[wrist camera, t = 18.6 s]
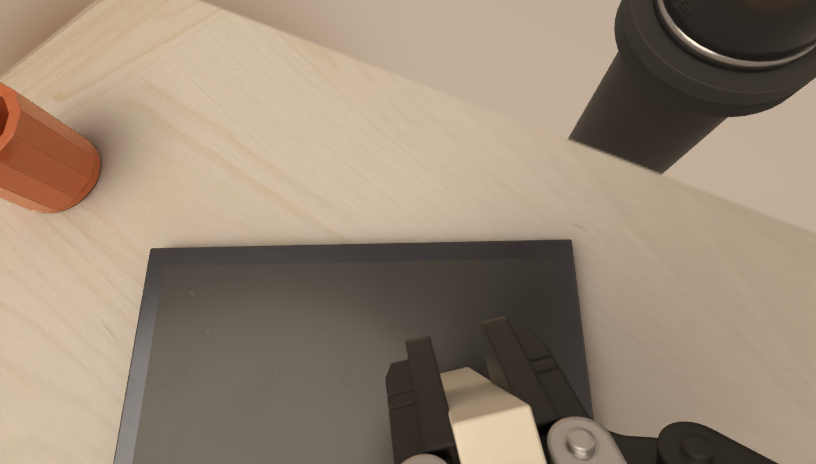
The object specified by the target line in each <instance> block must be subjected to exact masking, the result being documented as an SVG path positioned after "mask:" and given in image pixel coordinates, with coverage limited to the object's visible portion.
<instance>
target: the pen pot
mask: <svg viewBox="0 0 816 464" xmlns="http://www.w3.org/2000/svg"><path fill="white" fill-rule="evenodd" d="M100 168H101V162H100V156H99V153H98V151H97V149H96V148H95V146H94V145H93V144H92V143H91V142H89V141H88V140H87V139H86V138H85V137H83V136H82V135H80V134H79V133H77V132H76V131H74V130H73V129H71V128H70V127H68V126H67V125H65V124H64V123H62V122H61V121H59V120H58V119H56V118H55V117H53V116H52V115H50V114H49V113H47V112H46V111H45V110H43V109H42V108H40V107H39V106H37V105H36V104H34V103H33V102H31V101H30V100H28V99H27V98H25V97H24V96H22V95H21V94H19V93H18V92H16V91H15V90H13V89H11V88H10V87H8V86H6V85H4V84H3V83H1V82H0V198H2V199H4V200H7V201H9V202H12V203H14V204H17V205H19V206H22V207H24V208H27V209H29V210H34V211H37V212H42V213H54V212H59V211H63V210H66V209H68V208H70V207H72V206H74V205H76V204H77V203H79V202H80V201H81V200H82V199H84V198H85V197H86V196H87V195H88V194H89V192H90V191H91V190H92V188H93V187H94V185H95V183H96V182H97V179H98V177H99V173H100Z"/></svg>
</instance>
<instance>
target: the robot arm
mask: <svg viewBox="0 0 816 464" xmlns="http://www.w3.org/2000/svg"><path fill="white" fill-rule="evenodd" d="M652 1H653V9H654V12H655V15H656V18H657V20H658V22H659V24H660V26H661V28H662V29H663V31H664V32H665V34H666V35H667V36H668V37H669V38H670V39H671V40H672V41H673V42H674V43H675V44H676V45H677V46H678V47H679V48H680V49H682V50H683V51H684V52H686V53H687V54H689V55H690V56H692V57H694V58H695V59H697V60H699V61H701V62H703V63H706V64H708V65H711V66H714V67H717V68H720V69H724V70H728V71H735V72H744V73H758V72H767V71H773V70H777V69H780V68H783V67H786V66H788V65H790V64H793V63H795V62H796V61H798V60H799V59H801V58H802V57H803V56H805V55H806V54H807V53H808V52H810V51H811V50H812V49H813V48H814V47H816V0H652ZM480 327H481V334H482V340H483V346H484V352H485V359H486V364H487V368H488V372H489V376H490V379H491V382H493V383H494V384H496V385H498V386H499V387H501V388H502V389H504V390H506V391H507V392H509V393H510V394H512V395H514V396H515V397H517V398H518V399H520V400H522V401H523V402H525V403H526V404H528V405H529V406H530V407H531V409H532V413H533V416H534V420H535V423H536V427H537V430H538V434H539V438H540V441H541V445H542V448H543V452H544V455H545V459H546V462H547V464H778V463H776V462H774V461H772V460H770V459H768V458H766V457H764V456H762V455H761V454H759V453H757V452H755V451H753V450H751V449H749V448H747V447H745V446H743V445H742V444H740V443H738V442H736V441H734V440H732V439H730V438H728V437H726V436H724V435H722V434H721V433H719V432H717V431H715V430H713V429H711V428H709V427H707V426H704V425H701V424H698V423H693V422H676V423H672V424H669V425H668V426H666V427H664V428H663V429H662V430H661V432H660V434H659V437H658V438H654V437H637V436H625V435H620V434H616V433H614V432H611V431H609V430H607V429H605V428H604V427H603V426H602V425H601V424H599V423H597V422H596V421H594V420H593V419H592V418H591V417H590V416H589V414H588V413H587V412H586V410H585V408H584V407H583V405H582V403H581V402H580V400H579V398H578V397H577V395H576V393H575V392H574V390H573V388H572V387H571V385H570V383H569V382H568V380H567V378H566V377H565V375H564V373H563V372H562V370H561V369H560V368H559V365H558V363H557V362H556V360H555V358H554V357H553V356H552V353H551V352H550V350H549V348H548V347H547V345H546V343H545V342H544V340H543V339H541V338H540V337H539V336H537V335H536V334H535V333H533V332H532V331H530V330H525V331H521V332H517V333H515V332H514V330H513V328H512V326H511V324H510V322H509V320H508V319H507V317H506V316H503V317H499V318H495V319H491V320H487V321H483V322H480ZM405 343H406V349H407V354H408V359H407V360H403V361H399V362H394V363H391V365H390V367H389V370H388V373H387V375H386V378H385V382H386V391H387V400H388V409H389V419H390V428H391V437H392V446H393V455H394V464H460V460H459V456H458V452H457V447H456V443H455V439H454V435H453V431H452V427H451V423H450V419H449V415H448V413H449V407H448V403H447V399H446V395H445V392H444V388H443V384H442V380H441V376H440V372H439V369H438V365H437V361H436V357H435V353H434V349H433V346H432V342H431V338H430V334H429V335H425V336H421V337H417V338H413V339H409V340H405Z"/></svg>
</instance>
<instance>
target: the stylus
mask: <svg viewBox="0 0 816 464" xmlns="http://www.w3.org/2000/svg"><path fill="white" fill-rule="evenodd" d="M440 376H441V380H442V384H443V388H444V392H445V395H446V399H447V403H448V407H449V413H448V415H449V419H450V423H451V427H452V431H453V435H454V439H455V443H456V447H457V452H458V456H459V460H460V464H547V462H546V459H545V455H544V452H543V448H542V445H541V441H540V438H539V434H538V430H537V427H536V423H535V420H534V416H533V413H532V409H531V407H530V406H529V405H528V404H526V403H525V402H523V401H522V400H520V399H518V398H517V397H515V396H514V395H512V394H510V393H509V392H507V391H506V390H504V389H502V388H501V387H499V386H498V385H496V384H494V383H493V382H491V381H490V380H488V379H486V378H485V377H483V376H482V375H480V374H478V373H477V372H475V371H474V370H472V369H470V368H469V367H465V368H461V369H457V370H453V371H449V372H445V373H441V374H440Z"/></svg>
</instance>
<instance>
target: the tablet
mask: <svg viewBox="0 0 816 464" xmlns="http://www.w3.org/2000/svg"><path fill="white" fill-rule="evenodd" d="M503 316H506V317H507V319H508V320H509V322H510V324H511V326H512V328H513V330H514V332H515V333H517V332H521V331H525V330H530V331H532V332H533V333H535V334H536V335H537V336H539V337H540V338H541V339H543V340H544V342H545V343H546V345H547V347H548V348H549V350H550V352H551V353H552V356H553V357H554V358H555V360H556V362H557V363H558V365H559V368H560V369H561V370H562V372H563V373H564V375H565V377H566V378H567V380H568V382H569V383H570V385H571V387H572V388H573V390H574V392H575V393H576V395H577V397H578V398H579V400H580V402H581V403H582V405H583V407H584V408H585V410H586V412H587V413H588V414H589V416H590V417H591V418H592V419H593V411H592V403H591V395H590V387H589V379H588V371H587V362H586V354H585V346H584V338H583V330H582V321H581V313H580V305H579V297H578V289H577V281H576V272H575V264H574V256H573V248H572V241H571V240H526V241H479V242H432V243H385V244H338V245H291V246H244V247H197V248H152V249H151V250H150V255H149V261H148V266H147V272H146V278H145V284H144V290H143V295H142V301H141V307H140V313H139V318H138V324H137V330H136V336H135V341H134V347H133V353H132V359H131V365H130V370H129V376H128V382H127V388H126V393H125V399H124V405H123V411H122V416H121V422H120V428H119V434H118V440H117V445H116V451H115V457H114V463H113V464H394V455H393V446H392V437H391V428H390V419H389V409H388V400H387V391H386V382H385V378H386V375H387V373H388V370H389V367H390V365H391V363H394V362H399V361H403V360H407V359H408V354H407V349H406V343H405V340H409V339H413V338H417V337H421V336H425V335H429V334H430V338H431V342H432V346H433V349H434V353H435V357H436V361H437V365H438V369H439V372H440V374H441V373H445V372H449V371H453V370H457V369H461V368H465V367H469V368H470V369H472V370H474V371H475V372H477V373H478V374H480V375H482V376H483V377H485V378H486V379H488V380H490V381H491V379H490V376H489V372H488V368H487V364H486V359H485V352H484V346H483V340H482V334H481V327H480V322H483V321H487V320H491V319H495V318H499V317H503Z"/></svg>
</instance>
